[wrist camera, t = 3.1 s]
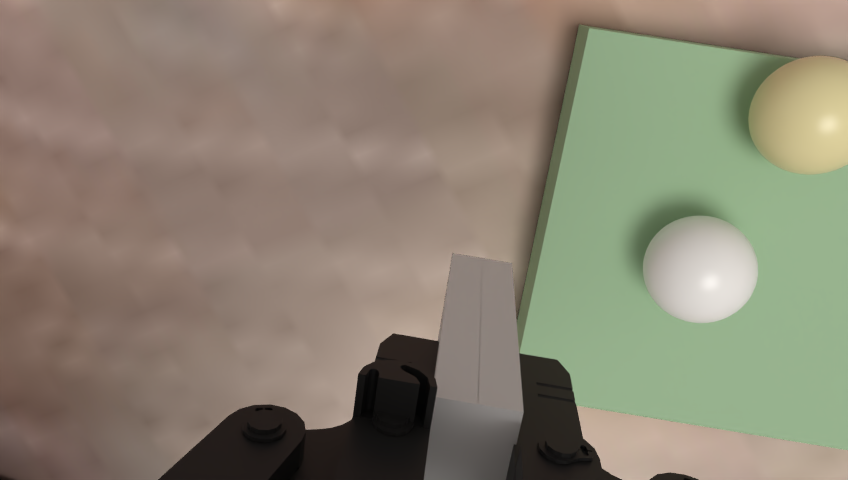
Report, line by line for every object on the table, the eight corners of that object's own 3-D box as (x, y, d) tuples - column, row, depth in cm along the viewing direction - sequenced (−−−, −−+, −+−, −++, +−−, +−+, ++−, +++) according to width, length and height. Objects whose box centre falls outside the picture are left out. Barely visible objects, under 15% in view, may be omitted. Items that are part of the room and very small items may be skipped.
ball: (622, 288, 26) (644, 332, 23) (646, 194, 25) (673, 227, 22) (719, 303, 26) (755, 350, 23) (749, 211, 25) (791, 246, 21)
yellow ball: (718, 151, 24) (758, 177, 21) (750, 42, 23) (797, 52, 20) (824, 167, 24) (880, 196, 21) (861, 60, 23) (928, 72, 20)
